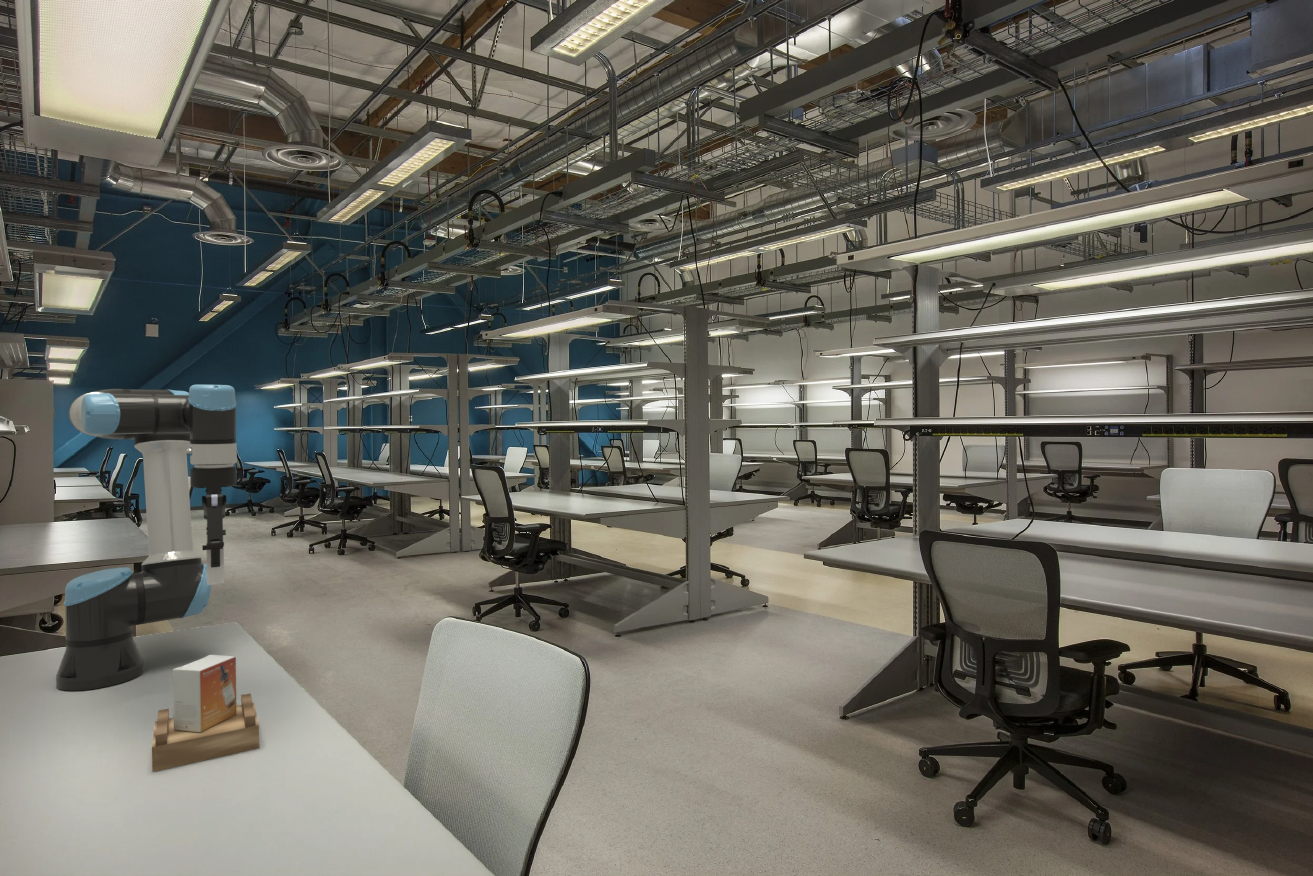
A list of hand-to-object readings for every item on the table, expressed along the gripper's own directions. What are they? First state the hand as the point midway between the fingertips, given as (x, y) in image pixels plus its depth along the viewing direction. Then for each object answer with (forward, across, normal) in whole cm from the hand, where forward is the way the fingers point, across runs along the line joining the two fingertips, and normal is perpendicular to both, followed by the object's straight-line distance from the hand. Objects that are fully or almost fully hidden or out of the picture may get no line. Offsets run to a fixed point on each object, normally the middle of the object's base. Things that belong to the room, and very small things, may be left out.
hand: (215, 576), depth 137 cm
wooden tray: (+26, +16, -2) cm, 31 cm away
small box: (+22, +16, -2) cm, 27 cm away
